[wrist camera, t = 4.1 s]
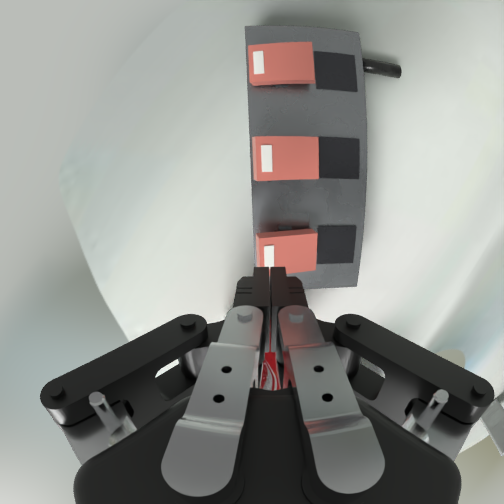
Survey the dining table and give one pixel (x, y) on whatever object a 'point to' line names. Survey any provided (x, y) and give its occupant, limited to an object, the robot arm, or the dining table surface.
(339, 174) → the power strip
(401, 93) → the dining table surface
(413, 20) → the dining table surface
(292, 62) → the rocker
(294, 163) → the rocker
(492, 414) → the skincare box
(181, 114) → the dining table surface
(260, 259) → the rocker
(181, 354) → the robot arm
